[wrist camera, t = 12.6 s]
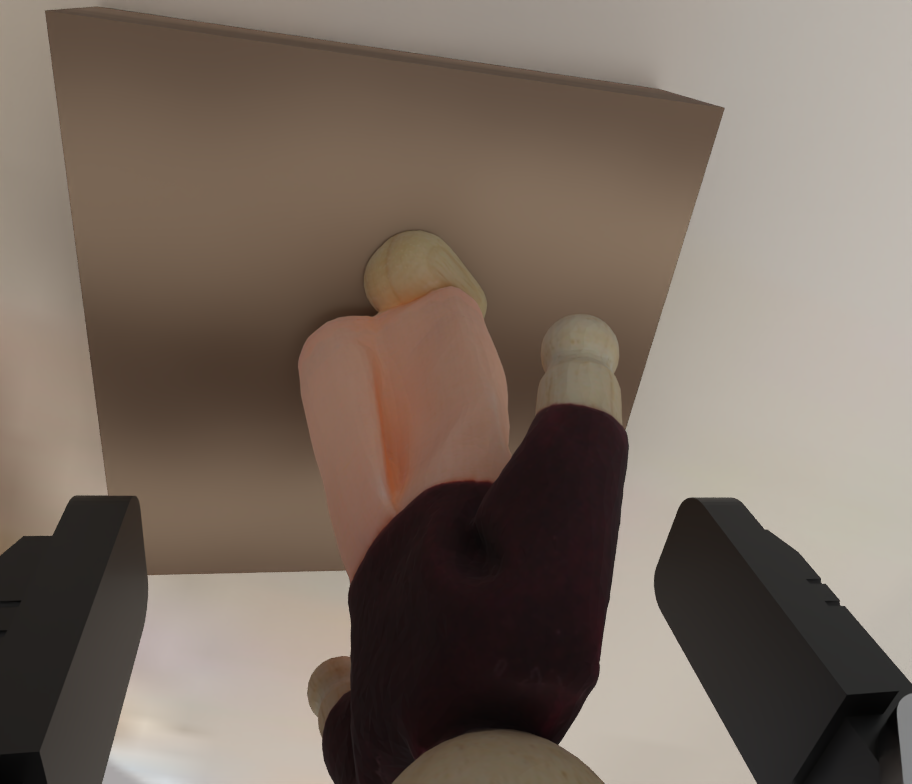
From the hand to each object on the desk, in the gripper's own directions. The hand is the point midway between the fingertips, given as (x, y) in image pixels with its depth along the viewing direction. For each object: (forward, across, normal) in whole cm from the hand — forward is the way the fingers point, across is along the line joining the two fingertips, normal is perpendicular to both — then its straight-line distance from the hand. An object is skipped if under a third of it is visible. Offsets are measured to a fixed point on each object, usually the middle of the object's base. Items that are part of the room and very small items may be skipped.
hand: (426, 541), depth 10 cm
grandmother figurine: (+6, 0, 0) cm, 6 cm away
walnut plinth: (+9, 0, 0) cm, 9 cm away
